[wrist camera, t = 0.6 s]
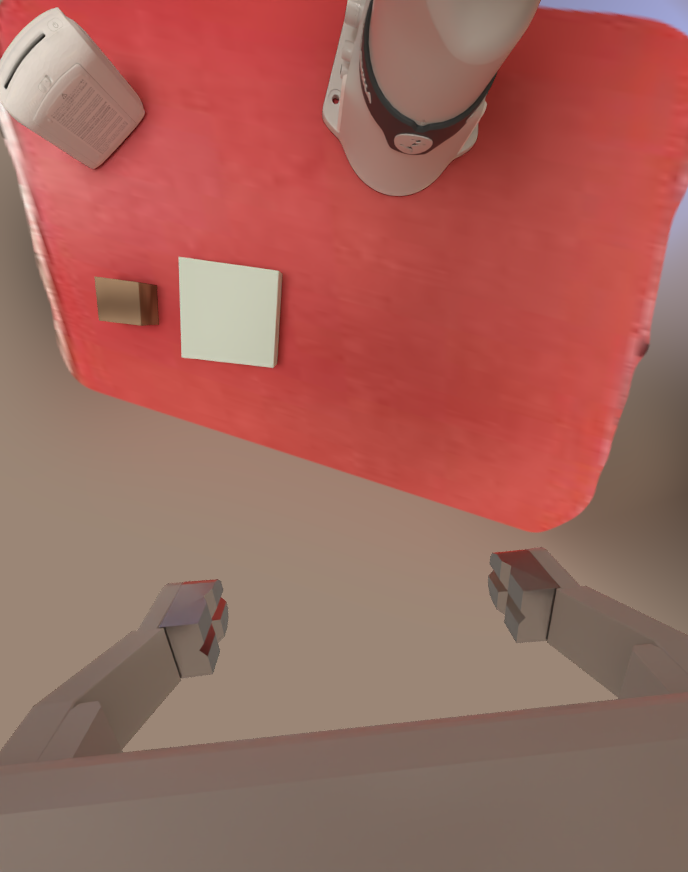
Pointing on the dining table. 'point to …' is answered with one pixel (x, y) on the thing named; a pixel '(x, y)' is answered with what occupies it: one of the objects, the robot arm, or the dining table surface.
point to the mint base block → (229, 312)
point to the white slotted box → (67, 89)
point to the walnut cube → (126, 301)
